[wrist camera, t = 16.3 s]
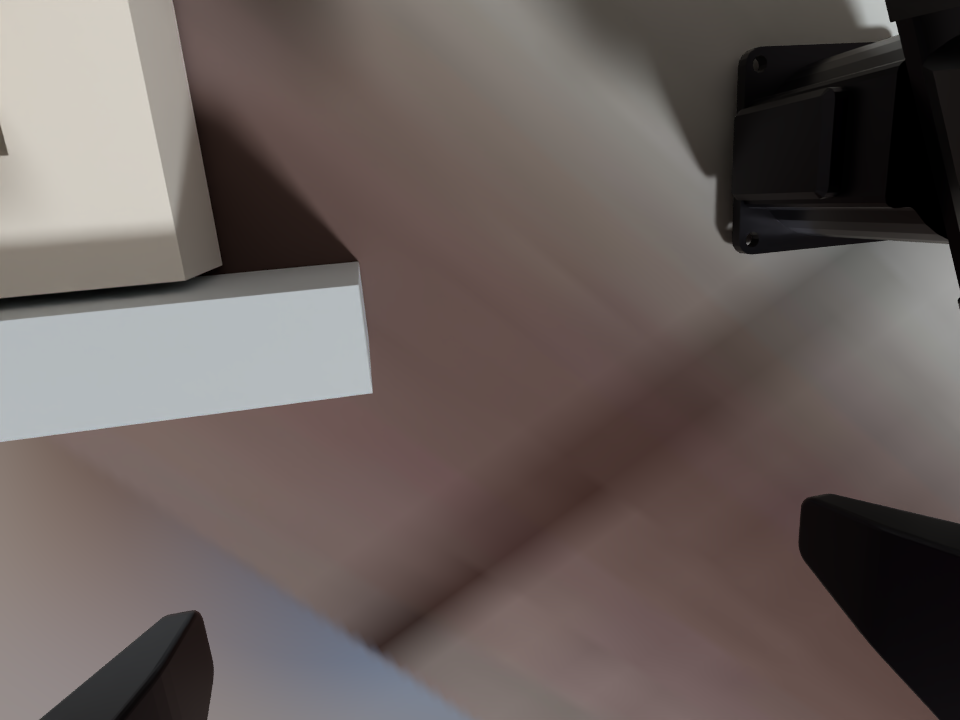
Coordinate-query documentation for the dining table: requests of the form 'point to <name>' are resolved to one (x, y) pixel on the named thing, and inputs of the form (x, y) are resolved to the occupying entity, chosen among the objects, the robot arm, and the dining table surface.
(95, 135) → the socket block
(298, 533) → the dining table surface
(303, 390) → the board
